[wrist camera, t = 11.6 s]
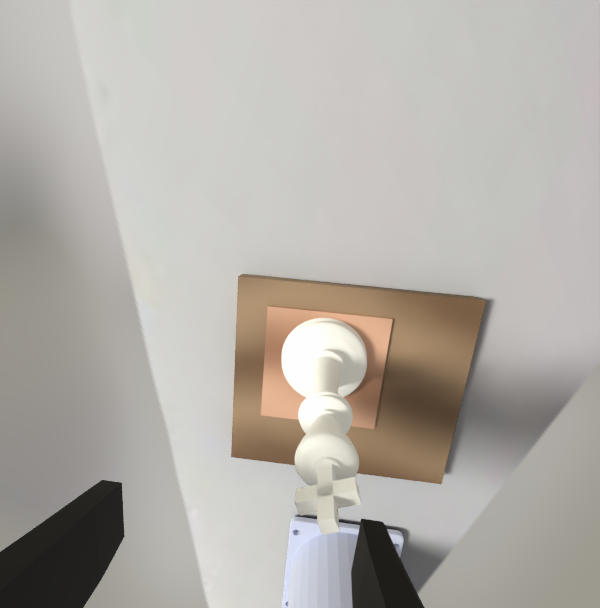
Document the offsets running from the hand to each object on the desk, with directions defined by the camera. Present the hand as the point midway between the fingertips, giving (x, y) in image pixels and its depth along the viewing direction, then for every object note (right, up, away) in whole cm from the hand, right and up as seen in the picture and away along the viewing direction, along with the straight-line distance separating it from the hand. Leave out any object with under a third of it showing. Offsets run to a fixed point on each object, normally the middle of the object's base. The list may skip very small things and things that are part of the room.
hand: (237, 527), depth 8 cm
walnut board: (+5, +2, +10) cm, 11 cm away
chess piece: (+3, +4, +8) cm, 10 cm away
